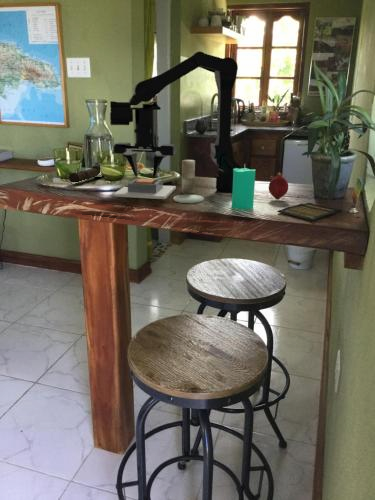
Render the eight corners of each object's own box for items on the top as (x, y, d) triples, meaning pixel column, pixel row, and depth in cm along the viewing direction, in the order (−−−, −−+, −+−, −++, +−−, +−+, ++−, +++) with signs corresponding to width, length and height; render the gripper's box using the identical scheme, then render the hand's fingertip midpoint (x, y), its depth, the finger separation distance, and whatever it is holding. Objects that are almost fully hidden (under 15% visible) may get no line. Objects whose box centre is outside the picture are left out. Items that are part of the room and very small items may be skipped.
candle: (256, 208, 124) (259, 165, 120) (236, 210, 122) (238, 165, 118) (247, 203, 129) (250, 161, 125) (228, 205, 128) (230, 162, 124)
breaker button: (155, 183, 143) (155, 179, 143) (151, 186, 138) (151, 182, 138) (140, 182, 144) (140, 178, 143) (135, 185, 139) (135, 181, 139)
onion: (290, 201, 133) (292, 174, 130) (271, 201, 132) (273, 174, 130) (283, 197, 139) (285, 171, 136) (265, 197, 138) (267, 171, 135)
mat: (205, 197, 137) (205, 195, 136) (201, 204, 128) (201, 202, 128) (176, 195, 138) (176, 193, 138) (170, 202, 130) (170, 200, 129)
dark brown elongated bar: (78, 184, 149) (76, 170, 147) (69, 184, 151) (67, 170, 149) (111, 176, 165) (110, 163, 164) (102, 176, 167) (101, 163, 165)
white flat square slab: (175, 188, 148) (175, 178, 147) (164, 199, 133) (164, 187, 132) (129, 186, 151) (128, 176, 150) (113, 196, 136) (112, 185, 135)
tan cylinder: (195, 191, 144) (195, 160, 141) (193, 194, 141) (193, 161, 137) (183, 190, 145) (183, 159, 142) (180, 193, 141) (180, 161, 138)
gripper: (180, 124, 141) (179, 174, 146) (123, 122, 144) (124, 171, 149) (172, 127, 131) (172, 180, 136) (111, 125, 134) (113, 177, 139)
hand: (145, 177), depth 140 cm, fingers open, 6 cm apart
